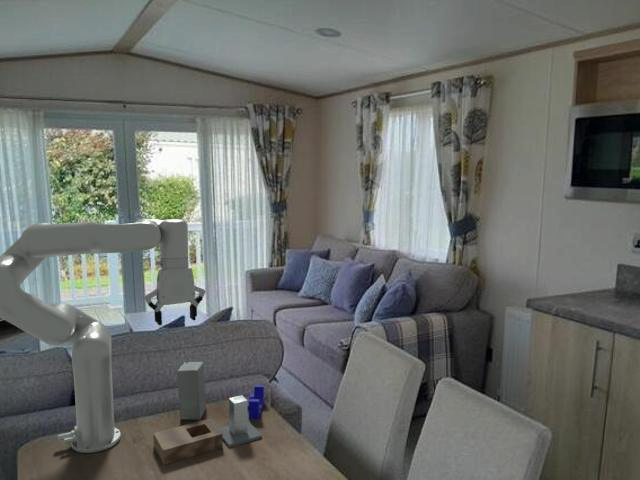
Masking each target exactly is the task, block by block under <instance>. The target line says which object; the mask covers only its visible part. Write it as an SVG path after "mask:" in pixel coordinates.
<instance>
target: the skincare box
mask: <svg viewBox="0 0 640 480" xmlns="http://www.w3.org/2000/svg"><path fill="white" fill-rule="evenodd" d="M204 364H205V363H204V361H184V362H183V364H182V365H180V366H179V368H178V369H177V372H176V373H177V374H176V375H177V390H178V391H177V392H178V405H179V419H180V420H183V421H185V420H188V421H189V420H193V421H195V420H196V421H201V419H202V417H203V415H204V413H205V412H206V409H207V401H206V385H205V384H206V383H205V367H204Z"/></svg>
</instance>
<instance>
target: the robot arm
mask: <svg viewBox="0 0 640 480" xmlns="http://www.w3.org/2000/svg"><path fill="white" fill-rule="evenodd" d="M188 230H189V228H188V222H187V221H186V220H185V219H179V218H176V219H174V218H172V219H170V218H169V219H163V220H162V219H150V218H141V219H138V220H136V221H135V222H132V223H131V222H129V223H119V224H118V223H116V224H113V223H111V224H109V223H107V224H106V223H99V222H95V221H78V222H77V221H76V222H66V223H65V222H64V223H48V222H36V223H34V224H32V225H30V226H28V227H26V228H25V229H24V230H23V232H22V233H21V235H20V237H19V238H18V239H17V240H16V241H15V242H14V243H13V244H12V245H10V246H9V248H7V249H6V250H5V251H4V252H3V253H2V254H0V319H2V320H4V321H6V322H7V323H9V324H11V325H13V326H15V327H17V328H18V329H20V330H22V331H23V332H25V333H27V334H29V335H31V336H32V337H34V338H35V339H37V340H39V341H41V342H42V343H45V344H47V345H49V346H51V347H52V346H54V347H58V346H63V345H65V344H68V345H71V346H72V349H71V365H72V371H73V373H72V374H73V386H74V399H75V400H74V402H75V415H76V416H75V417H76V418H75V419H76V421H75V422H76V425H74V429H72V430H70V432H69V431H68V432H64V433H60V434H57V439H58V443H61V442H63V444H64V445H66V444H71V448H72V450H73V451H75V452H77V453H82V454H89V453H90V454H92V453H98V452H101V451H104V450H108V449H109V448H112V447H113V446H115V445H116V444H117V443H118V442H119V441H120V439H121V436H122V435H121V430H120V429H118V428H117V427H115V415H114V413H115V412H114V411H115V409H114V408H115V407H114V393H113V392H114V389H113V372H112V371H113V370H112V369H113V368H112V334H111V331H110V330H109V328H108V327H107V325H105V324H104V323H102V322H100V321H99V320H97V319H96V318H94V317H92V316H90V315H89V314H87V313H86V312H84V311H83V310H80V309H79V308H77V307H75V306H73V305H71V304H69V303H65V302H54V303H52V304H49V303H48V302H45V301H43V300H42V299H40V298H39V297H37V296H35V295H33V294H31V293H28V292H26V291H24V290H23V289H22V288H21V284H22V283H23V282H24V281H25V280H26V279H27V278H28V277H29V275H31V274H32V273H33V272H34V271H35V270H36V269H37V268H38V267H39V266H40V265H41V264H42V263H43V262H44V261H45V260H46V259H47V258H53V257H65V256H75V255H88V254H91V255H92V254H98V255H99V254H122V253H131V252H133V253H134V252H142V251H143V252H144V251H149V250H152V249H154V248H155V247H156V246H158V245H159V244H160V245H159V246H160V257H159V259H158V260H155V266H159V268H158V272H157V277H156V289H154V290H152V291H151V292H149V293H148V294H146V295H144V296H143V299H144V300H145V303H146V304H147V306H149V307H150V308H151V309H152V310H154V312H153V313H154V322H155V323H156V324H157V325H158V326H159V327H160V326H162V325H163V318H162V317H163V316H162V314H163V312H162V310H161V309H162V308H163V307H164V306H170V305H178V304H186V303H190V304H189V318H190V319H191V320H192V321H196V319H197V316H198V306H199V304H200V303H201V302H202V301H203V298H204V297H205V294H206V289H203V288H201V287H199V286H196V285H195V279H194V278H195V277H194V272H193V268H192V266H190V265H189V231H188ZM196 292H197V293H198V295H197V296H196ZM154 297H156V302H155V303H153V301H152V299H153V298H154Z"/></svg>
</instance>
